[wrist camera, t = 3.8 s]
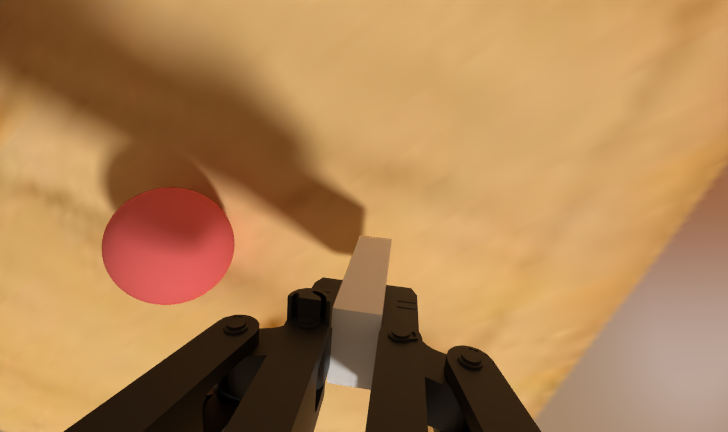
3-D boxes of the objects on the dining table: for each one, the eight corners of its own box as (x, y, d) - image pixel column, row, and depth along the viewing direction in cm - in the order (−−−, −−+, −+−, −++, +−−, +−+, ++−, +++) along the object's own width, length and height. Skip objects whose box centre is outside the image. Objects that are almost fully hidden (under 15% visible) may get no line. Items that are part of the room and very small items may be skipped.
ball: (160, 266, 21) (77, 319, 16) (152, 172, 19) (57, 195, 14) (252, 279, 20) (198, 337, 15) (252, 183, 19) (192, 212, 14)
